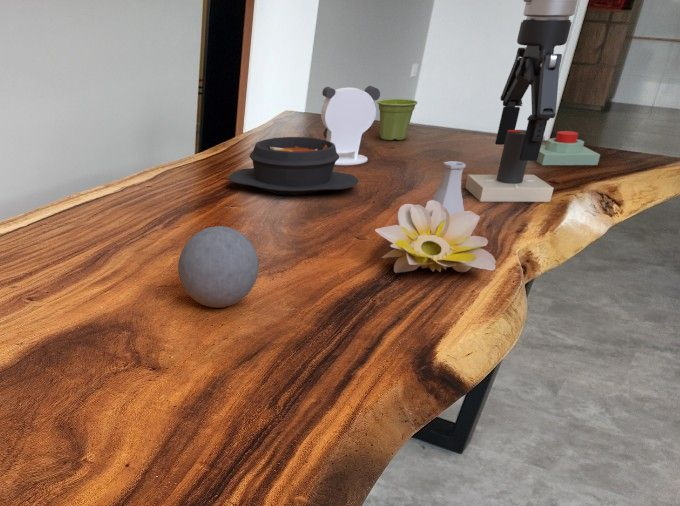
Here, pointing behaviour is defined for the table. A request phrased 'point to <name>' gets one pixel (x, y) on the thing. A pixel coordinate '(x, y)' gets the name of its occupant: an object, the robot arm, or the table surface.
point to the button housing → (566, 154)
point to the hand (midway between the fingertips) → (515, 152)
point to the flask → (451, 187)
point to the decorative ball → (218, 266)
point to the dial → (512, 158)
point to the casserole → (294, 167)
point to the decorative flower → (436, 239)
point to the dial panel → (509, 189)
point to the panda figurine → (348, 120)
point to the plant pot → (395, 117)
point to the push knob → (566, 137)
